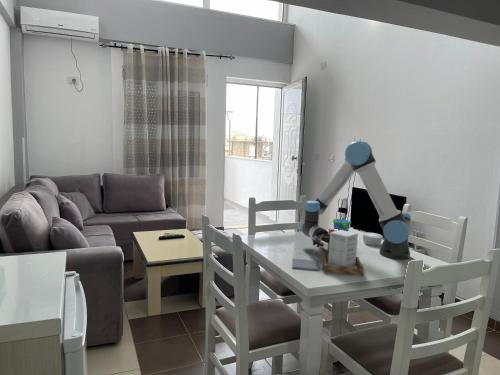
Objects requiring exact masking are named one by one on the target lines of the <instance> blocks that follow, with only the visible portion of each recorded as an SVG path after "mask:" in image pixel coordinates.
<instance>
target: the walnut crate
mask: <svg viewBox="0 0 500 375" xmlns="http://www.w3.org/2000/svg"><path fill="white" fill-rule="evenodd" d="M328 257H329V253H321V264H322V269H323V273H325V274H333V275H335V274H336V275H344V276H345V275H346V276H355V277H356V276H357V277H364V272H365V268H364V265H363V264H362V262H361V260H360V257H358V256H356V263H355V267H348V266H337V265H328Z"/></svg>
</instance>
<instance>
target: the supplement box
mask: <svg viewBox="0 0 500 375" xmlns="http://www.w3.org/2000/svg"><path fill="white" fill-rule="evenodd" d="M329 234H330V242H329V243H328V254H329V257H328V262H327V265H337V266H348V267H356V264H355V263H356V257H357V249H358V235H359V233H356V232H352V231H349V230H348V231H344V230H338V231H334V230H333V231H331V232H330V233H329Z"/></svg>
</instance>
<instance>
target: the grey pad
mask: <svg viewBox="0 0 500 375" xmlns="http://www.w3.org/2000/svg"><path fill="white" fill-rule="evenodd" d="M291 265H292V269H293V270H294V269H295V270H305V271H315V272H319V271H320V266H319V261H318V260H312V259H302V258H301V259H300V258H292V264H291Z"/></svg>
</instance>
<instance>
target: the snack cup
mask: <svg viewBox="0 0 500 375" xmlns="http://www.w3.org/2000/svg"><path fill="white" fill-rule="evenodd" d="M332 223H333V230H334V229H338V230H344V231H348V232H349V231H350V230H349V228H350V226H351V224H352V222H351V220H348V219H345V218H334V219H333V220H332Z"/></svg>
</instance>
